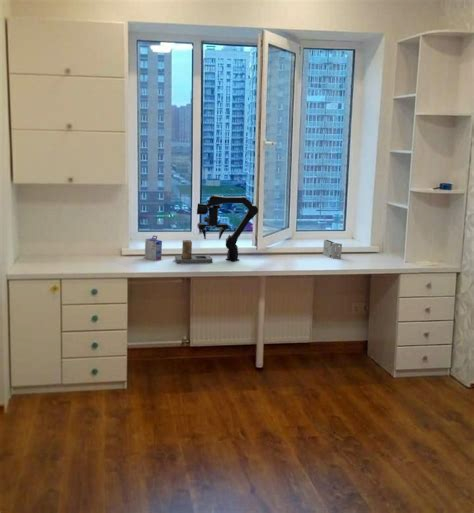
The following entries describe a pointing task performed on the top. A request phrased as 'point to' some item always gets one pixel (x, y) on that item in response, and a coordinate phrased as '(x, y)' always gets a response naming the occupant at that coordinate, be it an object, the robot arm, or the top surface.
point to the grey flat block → (194, 259)
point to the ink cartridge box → (153, 248)
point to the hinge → (332, 249)
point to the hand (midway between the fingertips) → (212, 239)
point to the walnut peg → (186, 249)
